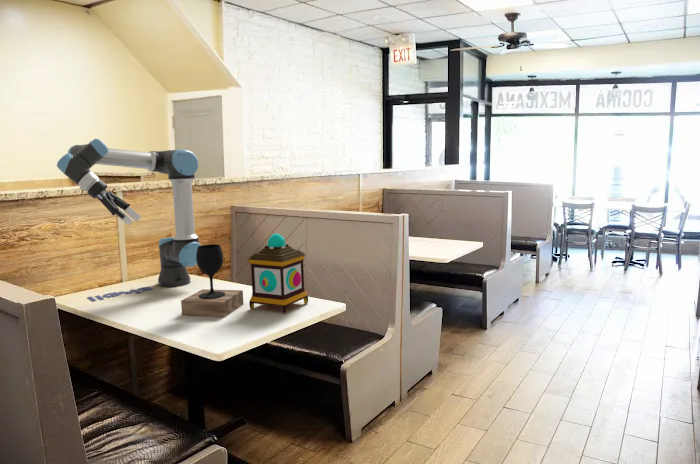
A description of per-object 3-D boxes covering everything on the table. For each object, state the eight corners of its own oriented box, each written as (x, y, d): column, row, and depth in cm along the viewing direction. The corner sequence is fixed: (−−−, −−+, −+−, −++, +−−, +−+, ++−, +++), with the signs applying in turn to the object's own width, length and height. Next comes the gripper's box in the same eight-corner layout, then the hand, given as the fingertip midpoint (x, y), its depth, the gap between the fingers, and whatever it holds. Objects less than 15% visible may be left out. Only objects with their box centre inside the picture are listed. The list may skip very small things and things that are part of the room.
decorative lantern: (244, 310, 219) (240, 235, 215) (273, 298, 237) (270, 229, 232) (286, 315, 210) (282, 238, 206) (313, 302, 227) (310, 231, 223)
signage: (148, 286, 264) (156, 289, 257) (148, 287, 264) (156, 291, 257) (85, 296, 246) (92, 301, 238) (86, 298, 246) (92, 302, 239)
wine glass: (216, 299, 213) (213, 248, 210) (193, 298, 216) (190, 248, 213) (230, 293, 223) (227, 244, 220) (208, 291, 226) (205, 243, 223)
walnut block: (203, 303, 231) (202, 289, 230) (243, 304, 228) (242, 290, 227) (182, 315, 214) (181, 300, 213) (225, 317, 210) (224, 301, 209)
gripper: (96, 190, 233) (136, 224, 238) (76, 194, 209) (120, 231, 213) (108, 177, 233) (148, 211, 238) (89, 180, 209) (134, 217, 213)
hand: (135, 221), depth 225 cm, fingers open, 13 cm apart
